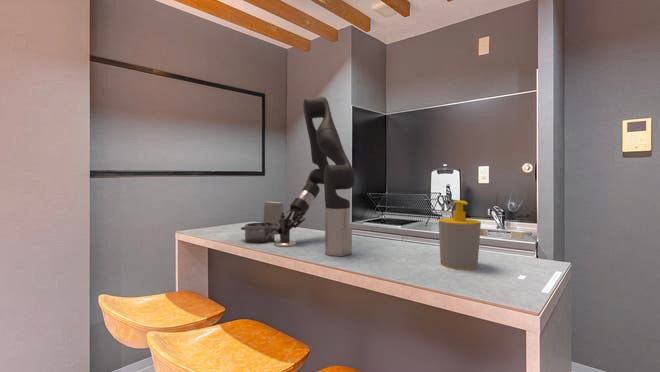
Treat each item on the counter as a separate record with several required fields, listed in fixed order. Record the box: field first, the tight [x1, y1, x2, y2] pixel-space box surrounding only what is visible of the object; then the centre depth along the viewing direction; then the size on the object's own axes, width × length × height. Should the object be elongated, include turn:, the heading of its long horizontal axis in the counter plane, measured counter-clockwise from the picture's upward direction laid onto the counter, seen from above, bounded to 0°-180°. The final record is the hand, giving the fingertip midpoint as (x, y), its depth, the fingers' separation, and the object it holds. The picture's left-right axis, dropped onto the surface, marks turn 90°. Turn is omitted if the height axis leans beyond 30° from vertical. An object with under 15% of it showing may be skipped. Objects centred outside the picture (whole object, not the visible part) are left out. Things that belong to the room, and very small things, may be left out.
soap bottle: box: [438, 199, 482, 271], centre depth 113 cm, size 13×13×21 cm
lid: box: [273, 218, 297, 248], centre depth 145 cm, size 9×9×11 cm
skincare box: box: [262, 201, 285, 235], centre depth 174 cm, size 8×7×16 cm
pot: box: [240, 222, 278, 244], centre depth 154 cm, size 17×13×7 cm
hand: (281, 233), depth 144 cm, fingers closed on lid, 2 cm apart
